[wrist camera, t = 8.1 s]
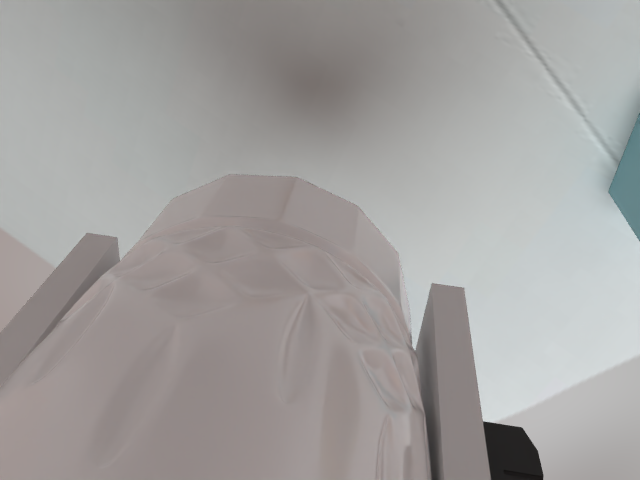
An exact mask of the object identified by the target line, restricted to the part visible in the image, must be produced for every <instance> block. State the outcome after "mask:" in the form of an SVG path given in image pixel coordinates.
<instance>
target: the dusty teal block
mask: <svg viewBox="0 0 640 480" xmlns="http://www.w3.org/2000/svg"><path fill="white" fill-rule="evenodd" d="M609 194H610V195H611V197H612V198H613V200H614V202H615V203H616V205H617V206H618V208H619V209H620V211H621V213H622V214H623V216H624V217H625V219H626V221H627V222H628V224H629V225H630V227H631V228H632V230H633V232H634V233H635V235H636V236H637V238H638V239H639V241H640V113H639V116H638V118H637V121H636V123H635V126H634V128H633V131H632V133H631V136H630V139H629V141H628V144H627V146H626V149H625V151H624V154H623V156H622V159H621V161H620V164H619V166H618V169H617V171H616V174H615V176H614V179H613V181H612V184H611V186H610V189H609Z"/></svg>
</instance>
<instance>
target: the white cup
mask: <svg viewBox="0 0 640 480" xmlns="http://www.w3.org/2000/svg"><path fill="white" fill-rule="evenodd" d="M0 480H432V473H431V463H430V453H429V444H428V435H427V428H426V418H425V412H424V408H423V404H422V392H421V380H420V371H419V364H418V358H417V355H416V352H415V351H414V349H413V347H412V334H411V318H410V307H409V301H408V296H407V292H406V287H405V282H404V277H403V272H402V268H401V263H400V258H399V254H398V252H397V251H396V250H395V249H394V247H393V246H392V245H391V244H390V243H389V242H388V240H387V239H386V238H385V237H384V236H383V234H382V233H381V232H380V231H379V230H378V229H377V227H376V226H375V225H374V224H373V223H372V222H371V220H370V219H369V218H368V217H367V216H366V215H365V213H364V212H363V211H362V210H361V209H360V208H359V207H358V206H357V205H355V204H353V203H351V202H349V201H347V200H345V199H343V198H340V197H338V196H336V195H334V194H332V193H330V192H328V191H326V190H323V189H321V188H319V187H317V186H315V185H313V184H311V183H309V182H306V181H304V180H302V179H300V178H298V177H288V176H263V175H238V174H229V175H226V176H224V177H222V178H219V179H217V180H215V181H212V182H210V183H208V184H205V185H203V186H201V187H198V188H196V189H194V190H191V191H189V192H187V193H184V194H182V195H180V196H177V197H175V198H173V199H172V200H171V201H170V202H169V204H168V205H167V206H166V207H165V208H164V210H163V211H162V212H161V213H160V215H159V216H158V217H157V218H156V220H155V221H154V222H153V223H152V225H151V226H150V227H149V228H148V230H147V231H146V232H145V233H144V235H143V236H142V237H141V238H140V240H139V241H138V242H137V243H136V244H135V245H134V246H133V247H132V248H131V249H130V251H129V252H128V253H127V254H126V255H125V256H124V257H123V258H122V260H121V261H119V262H118V263H117V264H116V265H115V266H113V267H112V268H111V269H110V270H108V271H107V272H106V273H105V274H103V275H101V276H100V277H99V278H98V279H97V281H96V282H95V283H94V284H93V285H92V286H91V287H90V288H89V289H88V290H87V292H86V293H85V294H84V295H83V296H82V297H81V298H80V299H79V300H78V301H77V302H76V303H75V304H74V305H73V306H72V308H71V309H70V310H69V311H68V312H67V313H66V314H65V315H64V317H63V318H62V319H61V320H60V321H59V322H58V323H57V325H56V326H55V328H54V329H53V330H52V332H51V333H50V334H49V335H48V336H47V337H46V338H45V339H44V340H43V341H42V342H41V343H40V344H39V345H38V346H37V347H36V348H35V349H34V350H33V351H32V352H31V353H30V354H29V355H28V356H27V357H26V358H25V359H24V360H23V361H22V362H21V363H20V365H19V366H18V367H17V368H16V369H15V370H14V371H13V372H12V373H11V375H10V376H9V377H8V378H7V379H6V380H5V382H4V383H3V384H2V385H1V386H0Z"/></svg>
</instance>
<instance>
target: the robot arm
mask: <svg viewBox="0 0 640 480" xmlns="http://www.w3.org/2000/svg"><path fill="white" fill-rule="evenodd" d="M119 261H120V257H119V248H118V239H117V237H112V236H105V235H98V234H91V233H86V235H85V236H84V237H83V238H82V239H81V240H80V241H79V243H78V244H77V245H76V246H75V247H74V248H73V250H72V251H71V252H70V253H69V254H68V255H67V256H66V258H65V259H64V260H63V261H62V262H61V263H60V265H59V266H58V267H57V268H56V269H55V270H54V271H53V273H52V274H51V275H50V276H49V277H48V278H47V280H46V281H45V282H44V283H43V284H42V285H41V287H40V288H39V289H38V290H37V291H36V292H35V293H34V295H33V296H32V297H31V298H30V299H29V300H28V301H27V303H26V304H25V305H24V306H23V307H22V308H21V310H20V311H19V312H18V313H17V314H16V315H15V317H14V318H13V319H12V320H11V321H10V322H9V323H8V325H7V326H6V327H5V328H4V329H3V330H2V332H1V333H0V386H1V385H2V384H3V383H4V382H5V380H6V379H7V378H8V377H9V376H10V375H11V373H12V372H13V371H14V370H15V369H16V368H17V367H18V366H19V365H20V363H21V362H22V361H23V360H24V359H25V358H26V357H27V356H28V355H29V354H30V353H31V352H32V351H33V350H34V349H35V348H36V347H37V346H38V345H39V344H40V343H41V342H42V341H43V340H44V339H45V338H46V337H47V336H48V335H49V334H50V333H51V332H52V330H53V329H54V328H55V326H56V325H57V323H58V322H59V321H60V320H61V319H62V318H63V317H64V315H65V314H66V313H67V312H68V311H69V310H70V309H71V308H72V306H73V305H74V304H75V303H76V302H77V301H78V300H79V299H80V298H81V297H82V296H83V295H84V294H85V293H86V292H87V290H88V289H89V288H90V287H91V286H92V285H93V284H94V283H95V282H96V281H97V279H98V278H99V277H100V276H101V275H103V274H105V273H106V272H107V271H108V270H110V269H111V268H112V267H113V266H115V265H116V264H117V263H118V262H119ZM415 352H416V355H417V358H418V364H419V371H420V380H421V392H422V404H423V408H424V412H425V418H426V428H427V435H428V444H429V453H430V463H431V473H432V480H543V472H542V467H541V463H540V459H539V454H538V451H537V449H536V448H535V446H534V445H533V444H532V442H531V440H530V439H529V437H528V436H527V434H526V433H525V431H524V430H523V428H521V427H515V426H508V425H502V424H496V423H490V422H483V419H482V412H481V405H480V398H479V391H478V384H477V377H476V370H475V362H474V355H473V348H472V341H471V334H470V327H469V320H468V313H467V306H466V298H465V291H464V288H462V287H455V286H448V285H441V284H434V283H432V284H431V288H430V292H429V296H428V301H427V305H426V309H425V313H424V317H423V321H422V326H421V330H420V334H419V338H418V342H417V346H416V350H415Z"/></svg>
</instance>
